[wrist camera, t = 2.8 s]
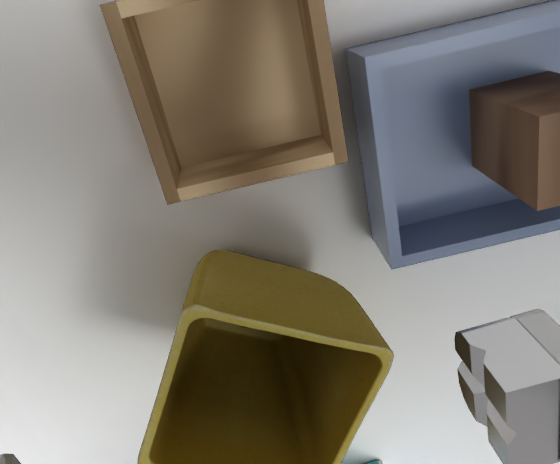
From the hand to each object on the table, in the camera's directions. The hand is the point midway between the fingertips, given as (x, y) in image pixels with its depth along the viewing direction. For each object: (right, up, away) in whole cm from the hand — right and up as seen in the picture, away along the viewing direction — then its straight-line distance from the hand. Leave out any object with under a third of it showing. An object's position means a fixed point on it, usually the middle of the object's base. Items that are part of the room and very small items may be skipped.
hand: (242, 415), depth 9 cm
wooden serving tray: (-1, +11, +14) cm, 18 cm away
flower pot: (-1, 0, +20) cm, 20 cm away
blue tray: (+12, +9, +17) cm, 23 cm away
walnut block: (+12, +9, +16) cm, 22 cm away
